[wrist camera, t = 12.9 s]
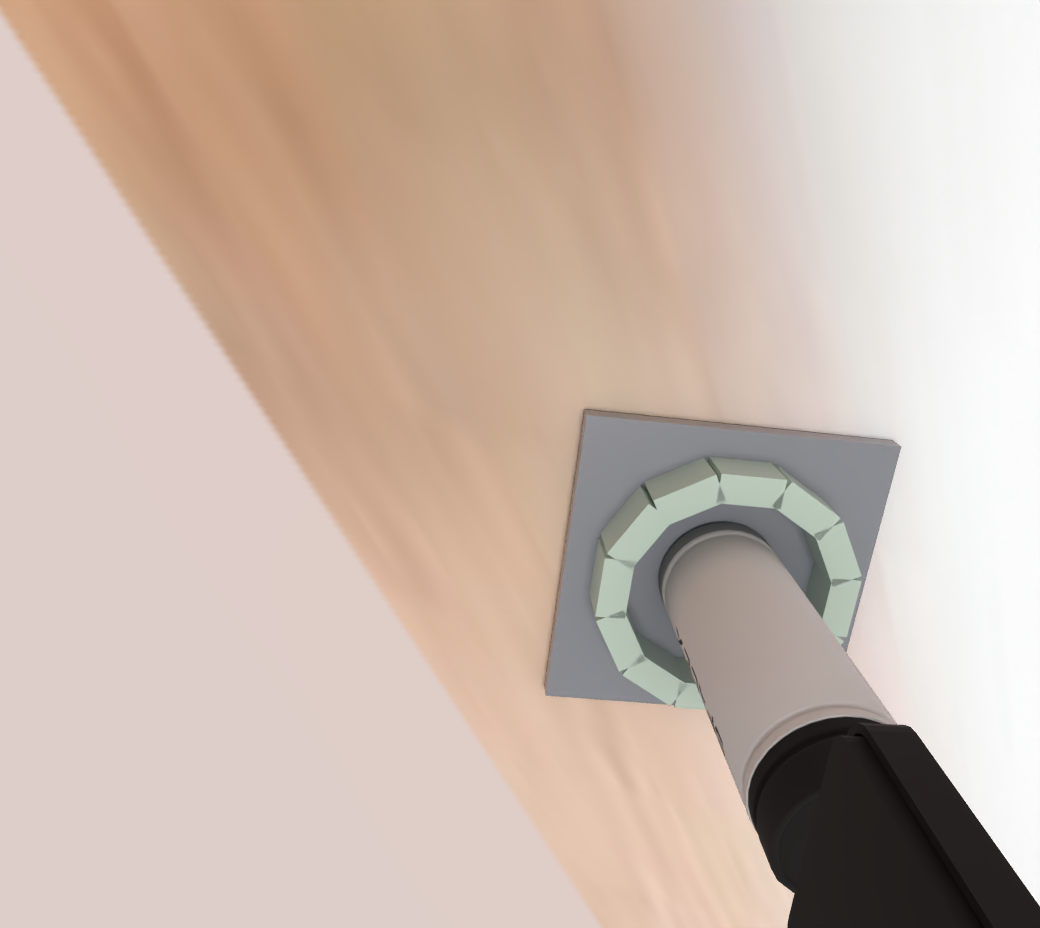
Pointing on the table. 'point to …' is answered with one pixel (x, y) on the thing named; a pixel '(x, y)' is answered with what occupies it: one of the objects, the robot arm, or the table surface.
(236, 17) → the table surface
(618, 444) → the cup dock
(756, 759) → the travel mug
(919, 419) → the table surface
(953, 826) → the robot arm
